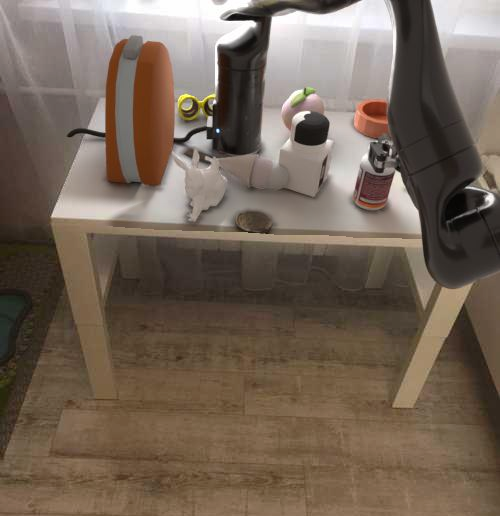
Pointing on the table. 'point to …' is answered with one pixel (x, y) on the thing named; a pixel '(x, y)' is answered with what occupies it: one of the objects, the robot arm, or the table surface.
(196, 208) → the rabbit figurine
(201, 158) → the wooden plank
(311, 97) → the decorative fruit
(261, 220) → the decorative disc
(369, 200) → the pill bottle
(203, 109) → the opera glasses
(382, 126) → the holder
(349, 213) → the table surface
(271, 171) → the ice cream cone
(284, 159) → the container
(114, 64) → the orange rounded case
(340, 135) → the table surface
